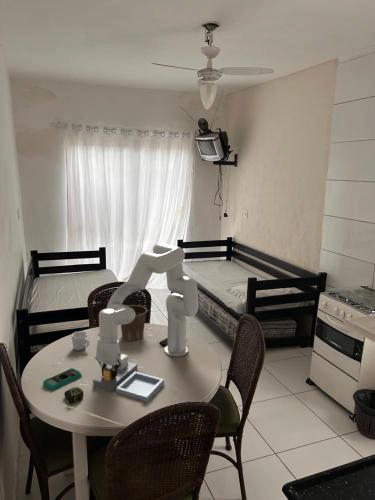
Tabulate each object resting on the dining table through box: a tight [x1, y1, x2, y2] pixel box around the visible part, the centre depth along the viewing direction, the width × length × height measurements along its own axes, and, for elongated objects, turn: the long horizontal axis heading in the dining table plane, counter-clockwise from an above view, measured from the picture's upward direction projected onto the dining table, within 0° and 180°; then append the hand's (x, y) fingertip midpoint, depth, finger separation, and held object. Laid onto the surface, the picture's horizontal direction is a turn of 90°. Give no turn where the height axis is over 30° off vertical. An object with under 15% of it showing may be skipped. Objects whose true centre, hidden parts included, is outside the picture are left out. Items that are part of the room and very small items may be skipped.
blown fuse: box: [103, 364, 112, 381], centre depth 161 cm, size 4×3×8 cm, turn 156°
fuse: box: [117, 353, 129, 370], centre depth 170 cm, size 4×3×8 cm, turn 156°
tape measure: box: [63, 386, 84, 405], centre depth 151 cm, size 7×7×4 cm
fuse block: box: [92, 361, 138, 393], centre depth 166 cm, size 20×10×4 cm, turn 156°
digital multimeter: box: [42, 368, 82, 391], centre depth 164 cm, size 8×15×3 cm, turn 141°
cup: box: [71, 330, 90, 351], centre depth 193 cm, size 11×8×8 cm
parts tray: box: [115, 371, 165, 404], centre depth 159 cm, size 15×15×2 cm
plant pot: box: [120, 304, 148, 342], centre depth 209 cm, size 16×16×16 cm
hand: (109, 375), depth 161 cm, fingers open, 4 cm apart
